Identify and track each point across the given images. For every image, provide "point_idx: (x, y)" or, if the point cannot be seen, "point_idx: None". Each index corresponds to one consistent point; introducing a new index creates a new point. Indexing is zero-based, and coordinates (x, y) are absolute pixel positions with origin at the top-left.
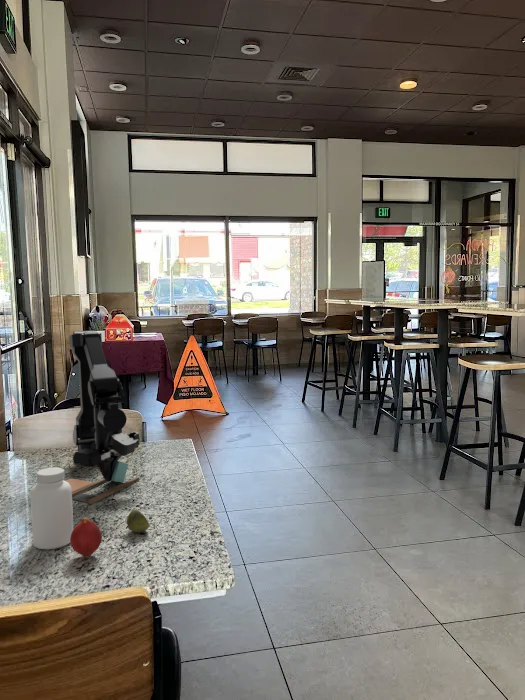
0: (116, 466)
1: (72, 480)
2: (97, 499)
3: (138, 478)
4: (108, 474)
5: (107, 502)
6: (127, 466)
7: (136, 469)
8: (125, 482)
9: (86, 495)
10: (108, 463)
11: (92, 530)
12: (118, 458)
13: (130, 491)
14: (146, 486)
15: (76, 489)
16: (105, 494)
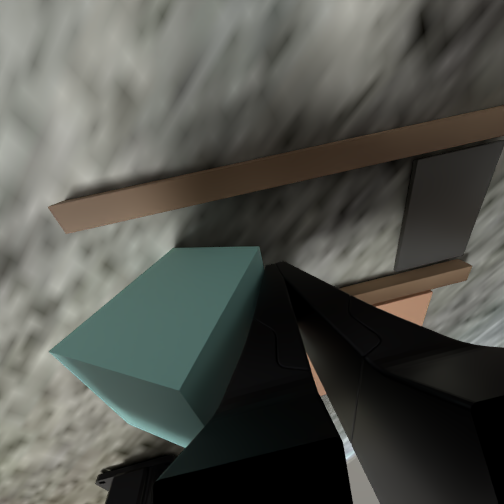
0: (222, 338)
1: (320, 383)
2: (476, 111)
3: (57, 205)
4: (319, 281)
5: (487, 9)
6: (78, 329)
7: (3, 362)
8: (190, 201)
9: (418, 229)
10: (457, 357)
11: None
12: (234, 443)
13: (243, 46)
14: (60, 4)
15: (395, 304)
16: (413, 125)
